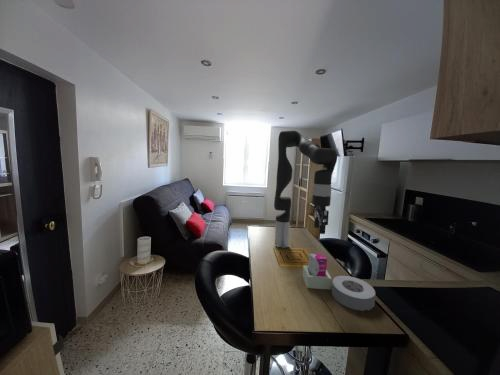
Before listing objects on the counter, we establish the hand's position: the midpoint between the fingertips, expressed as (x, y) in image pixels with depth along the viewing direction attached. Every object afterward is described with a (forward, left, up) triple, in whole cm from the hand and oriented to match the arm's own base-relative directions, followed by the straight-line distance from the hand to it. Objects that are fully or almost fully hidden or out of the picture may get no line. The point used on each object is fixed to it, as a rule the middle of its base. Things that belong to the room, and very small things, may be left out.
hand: (319, 230), depth 85 cm
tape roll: (+9, +12, -25) cm, 29 cm away
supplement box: (0, 0, -23) cm, 23 cm away
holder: (0, 0, -24) cm, 24 cm away
